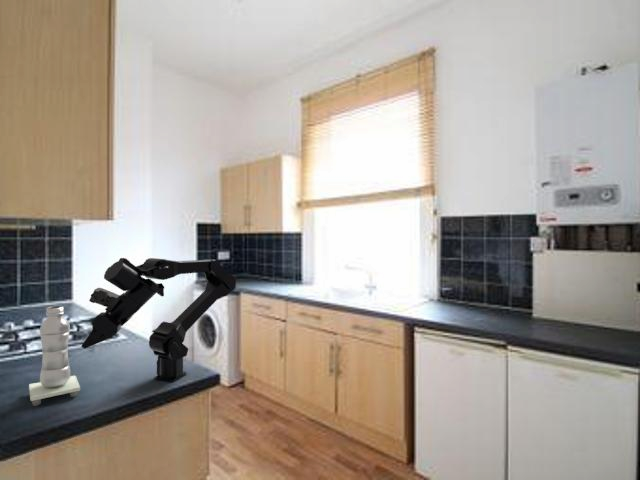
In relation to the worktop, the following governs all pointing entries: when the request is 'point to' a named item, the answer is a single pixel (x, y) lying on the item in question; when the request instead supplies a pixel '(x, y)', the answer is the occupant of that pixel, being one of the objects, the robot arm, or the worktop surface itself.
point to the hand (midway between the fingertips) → (88, 342)
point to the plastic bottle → (55, 348)
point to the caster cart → (53, 390)
